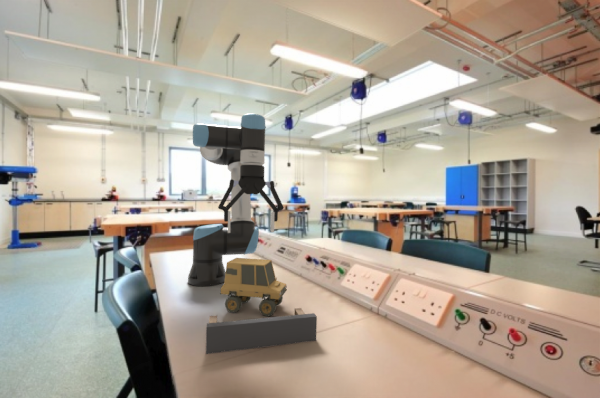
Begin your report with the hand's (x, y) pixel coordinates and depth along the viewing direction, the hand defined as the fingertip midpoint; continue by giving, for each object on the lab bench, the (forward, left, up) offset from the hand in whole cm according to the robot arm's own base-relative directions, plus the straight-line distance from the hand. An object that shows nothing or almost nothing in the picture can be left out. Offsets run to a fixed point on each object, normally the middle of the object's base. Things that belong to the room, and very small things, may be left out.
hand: (251, 232), depth 89 cm
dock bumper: (+23, +1, -24) cm, 33 cm away
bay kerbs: (+16, +1, -24) cm, 29 cm away
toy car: (+1, +1, -25) cm, 25 cm away
